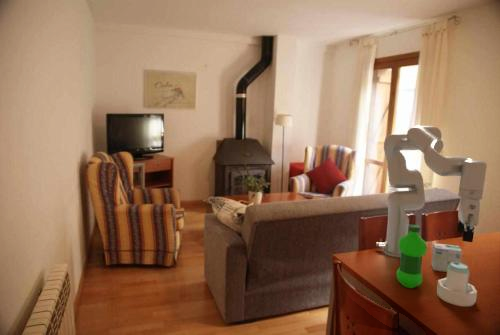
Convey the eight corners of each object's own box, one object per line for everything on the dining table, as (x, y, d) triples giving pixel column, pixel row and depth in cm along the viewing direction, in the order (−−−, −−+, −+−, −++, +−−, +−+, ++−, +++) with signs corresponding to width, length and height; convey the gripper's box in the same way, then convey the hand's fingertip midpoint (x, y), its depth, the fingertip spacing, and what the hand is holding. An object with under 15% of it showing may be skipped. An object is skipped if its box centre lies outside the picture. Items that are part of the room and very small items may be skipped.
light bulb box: (456, 267, 155) (459, 245, 153) (460, 274, 149) (463, 251, 147) (430, 264, 158) (432, 242, 157) (432, 270, 152) (435, 247, 150)
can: (441, 293, 130) (444, 263, 129) (450, 288, 134) (453, 259, 132) (460, 301, 125) (464, 270, 123) (469, 296, 129) (473, 266, 127)
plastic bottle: (390, 278, 144) (395, 221, 140) (416, 279, 143) (421, 222, 139) (400, 290, 134) (406, 230, 130) (427, 291, 133) (434, 230, 129)
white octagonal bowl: (440, 302, 126) (441, 290, 125) (434, 286, 137) (435, 275, 137) (479, 309, 122) (480, 297, 121) (469, 292, 133) (471, 281, 133)
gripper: (489, 200, 117) (481, 247, 120) (476, 189, 133) (470, 230, 136) (463, 197, 120) (457, 243, 123) (454, 187, 135) (448, 228, 139)
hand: (464, 236), depth 129 cm, fingers open, 9 cm apart
